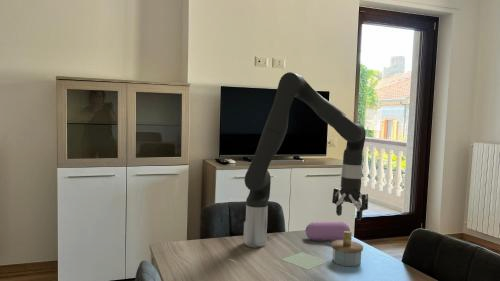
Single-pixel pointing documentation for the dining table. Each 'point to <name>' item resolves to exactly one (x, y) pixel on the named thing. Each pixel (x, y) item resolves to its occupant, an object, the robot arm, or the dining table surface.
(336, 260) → the cup
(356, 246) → the lid
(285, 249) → the dining table surface
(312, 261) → the mat
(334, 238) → the toy
